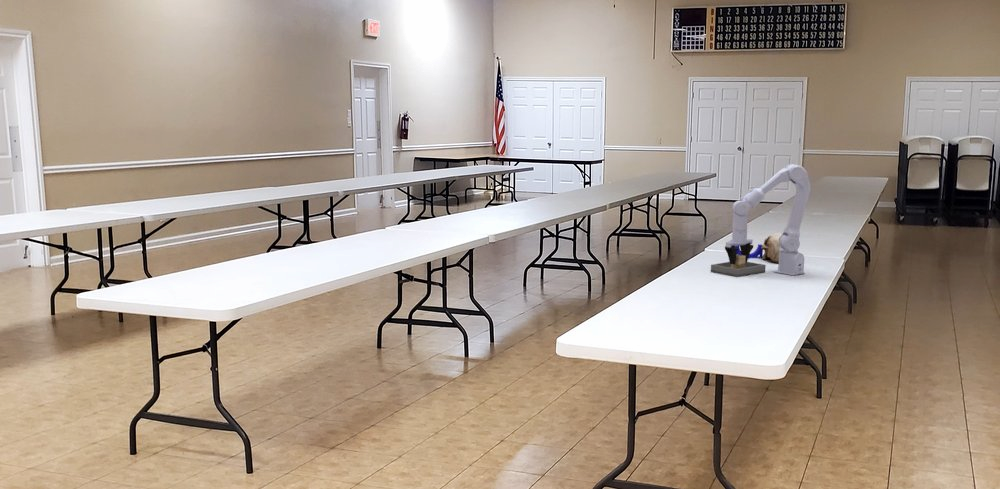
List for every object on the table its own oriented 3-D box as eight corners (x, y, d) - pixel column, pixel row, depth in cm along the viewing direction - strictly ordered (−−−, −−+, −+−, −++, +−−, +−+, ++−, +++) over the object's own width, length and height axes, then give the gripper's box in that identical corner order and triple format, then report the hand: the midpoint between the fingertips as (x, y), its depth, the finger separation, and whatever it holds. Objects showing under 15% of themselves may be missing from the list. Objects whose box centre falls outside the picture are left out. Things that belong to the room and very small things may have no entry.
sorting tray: (765, 272, 345) (765, 264, 345) (737, 277, 335) (738, 269, 335) (738, 267, 356) (738, 260, 356) (710, 271, 346) (711, 264, 345)
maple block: (744, 270, 345) (745, 255, 344) (738, 271, 343) (739, 256, 342) (736, 268, 348) (737, 254, 347) (730, 269, 346) (731, 255, 345)
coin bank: (769, 255, 383) (773, 227, 380) (803, 264, 370) (807, 235, 367) (749, 260, 373) (753, 231, 370) (784, 270, 361) (788, 240, 357)
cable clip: (735, 258, 377) (736, 245, 376) (733, 257, 381) (734, 244, 380) (763, 259, 376) (763, 246, 375) (760, 257, 380) (761, 244, 380)
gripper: (743, 227, 350) (741, 259, 352) (720, 230, 342) (719, 263, 344) (757, 229, 345) (755, 262, 347) (734, 232, 336) (733, 266, 338)
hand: (738, 263), depth 345 cm, fingers open, 7 cm apart
